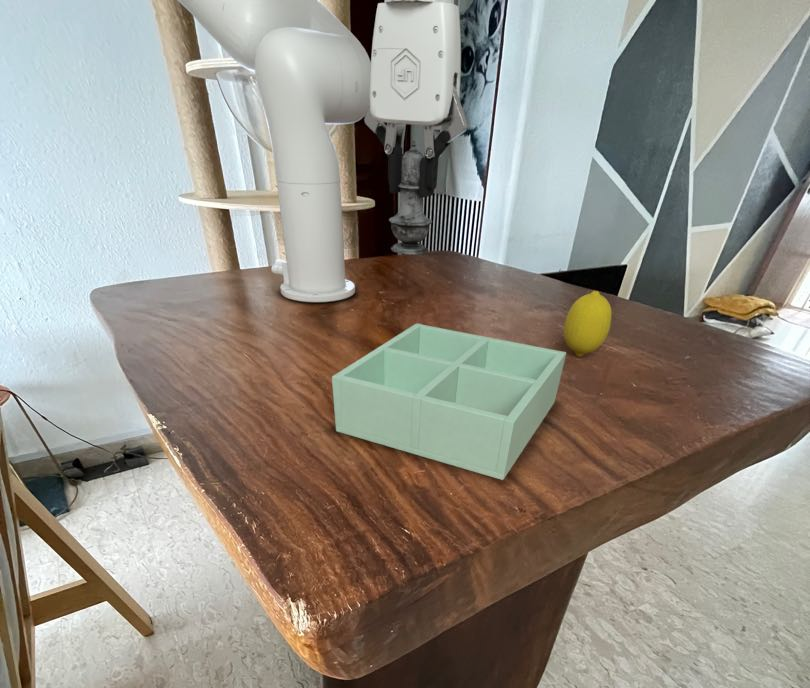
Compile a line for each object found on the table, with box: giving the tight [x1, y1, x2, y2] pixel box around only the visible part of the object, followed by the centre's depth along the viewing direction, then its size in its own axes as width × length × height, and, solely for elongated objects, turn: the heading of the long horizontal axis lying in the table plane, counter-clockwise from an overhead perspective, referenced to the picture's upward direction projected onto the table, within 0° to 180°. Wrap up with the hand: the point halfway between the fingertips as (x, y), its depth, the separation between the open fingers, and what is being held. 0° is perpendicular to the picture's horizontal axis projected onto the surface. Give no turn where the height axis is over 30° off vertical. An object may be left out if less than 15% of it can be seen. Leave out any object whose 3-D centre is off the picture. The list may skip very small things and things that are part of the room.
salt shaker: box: [388, 140, 433, 255], centre depth 65 cm, size 6×6×12 cm
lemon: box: [563, 290, 612, 358], centre depth 62 cm, size 6×6×8 cm
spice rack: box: [331, 322, 567, 481], centre depth 50 cm, size 17×17×6 cm
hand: (411, 192), depth 65 cm, fingers closed on salt shaker, 3 cm apart
